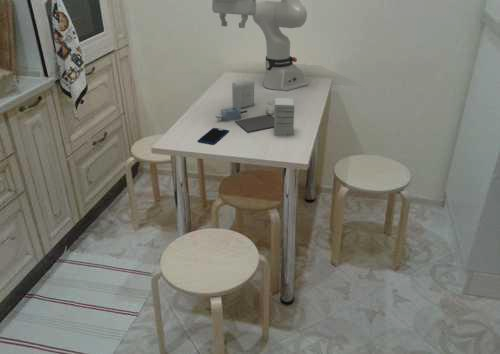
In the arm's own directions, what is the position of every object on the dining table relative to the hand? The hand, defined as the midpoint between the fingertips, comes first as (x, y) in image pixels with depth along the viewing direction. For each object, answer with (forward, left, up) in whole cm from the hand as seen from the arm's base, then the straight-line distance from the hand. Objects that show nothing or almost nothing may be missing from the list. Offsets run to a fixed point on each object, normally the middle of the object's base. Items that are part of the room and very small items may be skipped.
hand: (232, 27), depth 179 cm
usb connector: (+2, 0, -37) cm, 37 cm away
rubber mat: (-6, +10, -37) cm, 39 cm away
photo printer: (-9, -11, -37) cm, 40 cm away
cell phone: (+15, +13, -38) cm, 42 cm away
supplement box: (-11, +21, -37) cm, 44 cm away
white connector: (-17, 0, -37) cm, 41 cm away
